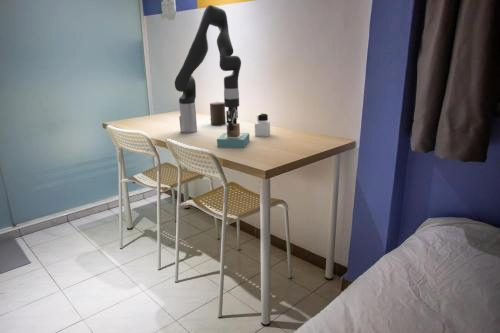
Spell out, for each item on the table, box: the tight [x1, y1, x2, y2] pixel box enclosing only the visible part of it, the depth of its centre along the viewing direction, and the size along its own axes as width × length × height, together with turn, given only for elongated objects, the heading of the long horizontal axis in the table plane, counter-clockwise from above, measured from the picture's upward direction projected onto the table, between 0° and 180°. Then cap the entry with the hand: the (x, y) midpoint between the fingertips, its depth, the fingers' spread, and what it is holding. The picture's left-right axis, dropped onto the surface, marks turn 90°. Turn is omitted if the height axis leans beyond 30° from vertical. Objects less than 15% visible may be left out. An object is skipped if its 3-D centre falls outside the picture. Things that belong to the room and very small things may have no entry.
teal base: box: [216, 132, 250, 148], centre depth 195 cm, size 14×14×4 cm
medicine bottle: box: [254, 113, 271, 138], centre depth 210 cm, size 7×7×12 cm
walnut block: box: [226, 122, 241, 137], centre depth 193 cm, size 6×6×6 cm
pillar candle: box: [209, 101, 227, 126], centre depth 242 cm, size 10×10×15 cm
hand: (232, 128), depth 193 cm, fingers open, 8 cm apart
